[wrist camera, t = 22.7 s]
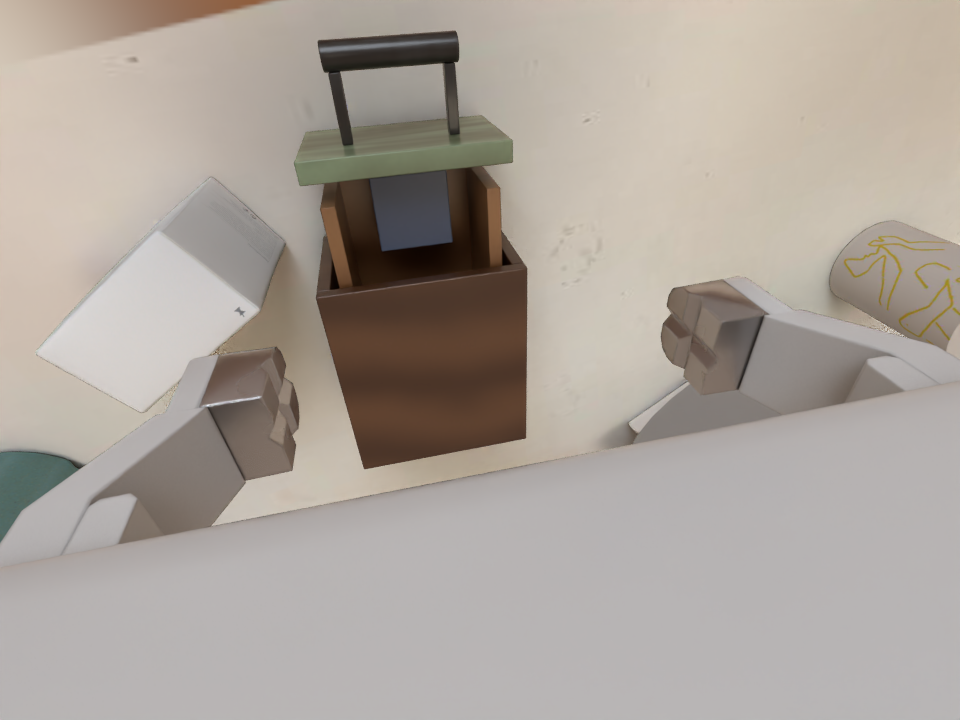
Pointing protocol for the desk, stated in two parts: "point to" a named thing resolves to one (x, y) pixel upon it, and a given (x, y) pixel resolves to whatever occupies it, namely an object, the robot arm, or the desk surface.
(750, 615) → the robot arm
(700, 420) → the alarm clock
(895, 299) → the white solid cylinder
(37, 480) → the flower pot
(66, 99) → the desk surface
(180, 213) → the cosmetics box
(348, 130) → the drawer
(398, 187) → the block
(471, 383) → the cabinet
